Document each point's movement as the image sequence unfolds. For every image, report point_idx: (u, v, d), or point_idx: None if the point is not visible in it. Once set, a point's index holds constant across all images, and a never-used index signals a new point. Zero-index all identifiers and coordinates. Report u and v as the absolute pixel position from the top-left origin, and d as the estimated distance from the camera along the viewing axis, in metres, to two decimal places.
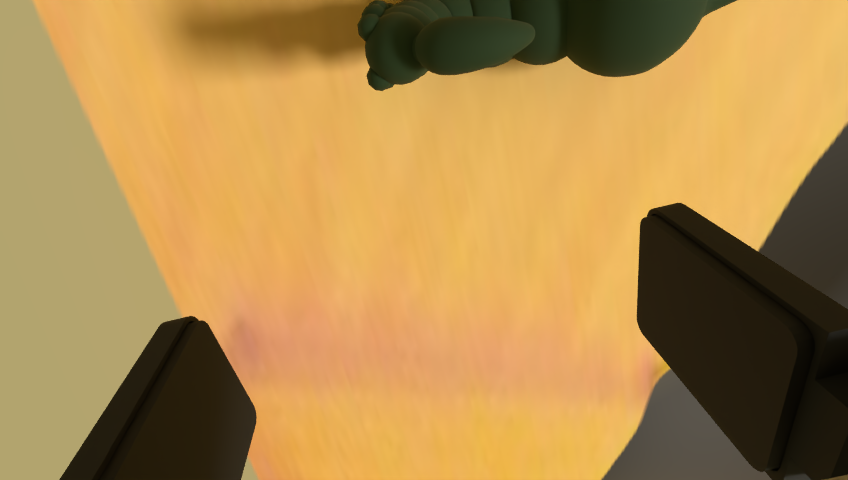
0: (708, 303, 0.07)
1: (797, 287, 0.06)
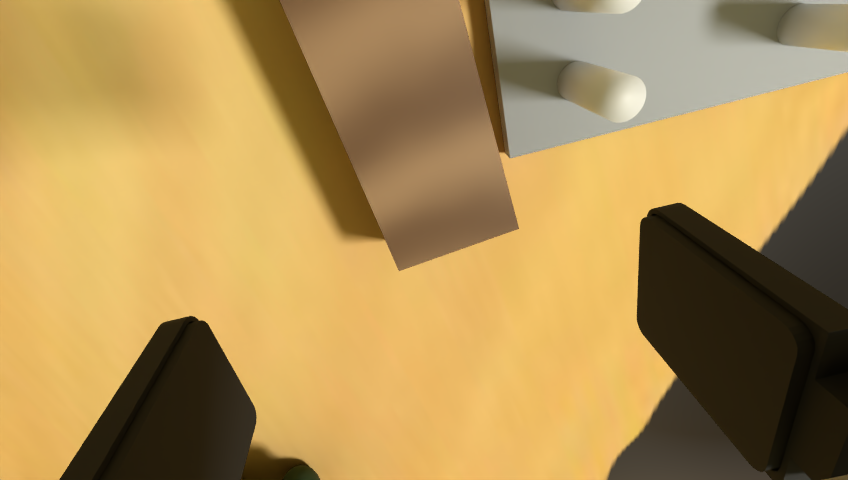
0: (708, 303, 0.07)
1: (797, 287, 0.06)
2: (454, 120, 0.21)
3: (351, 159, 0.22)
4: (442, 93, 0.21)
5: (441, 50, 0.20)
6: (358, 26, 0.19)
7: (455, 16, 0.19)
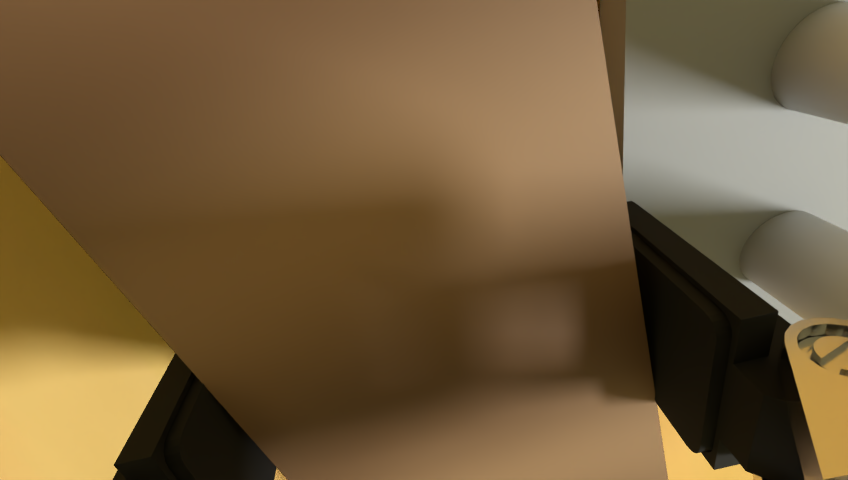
0: (649, 295, 0.08)
1: (722, 278, 0.07)
2: (563, 399, 0.08)
3: None
4: (538, 349, 0.08)
5: (545, 255, 0.07)
6: (292, 214, 0.06)
7: (597, 167, 0.06)
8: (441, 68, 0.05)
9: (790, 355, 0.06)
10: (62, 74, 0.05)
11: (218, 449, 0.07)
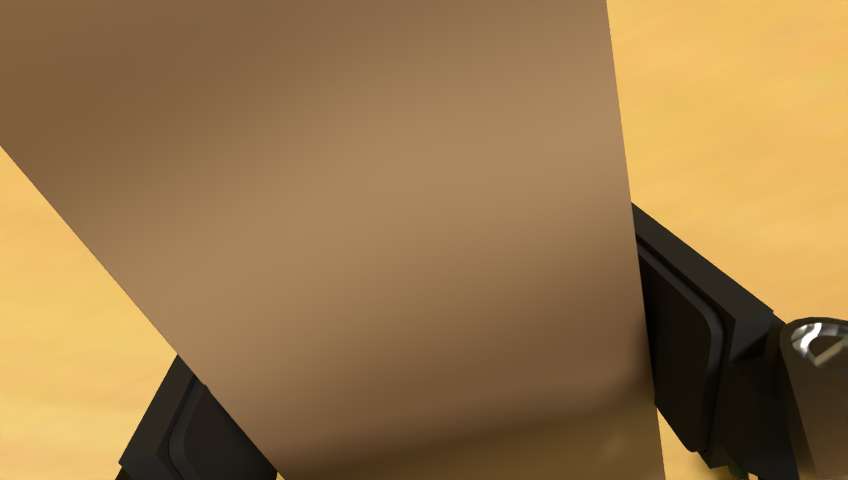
0: (646, 294, 0.08)
1: (717, 278, 0.07)
2: (563, 405, 0.08)
3: None
4: (540, 355, 0.08)
5: (550, 262, 0.07)
6: (298, 217, 0.06)
7: (604, 175, 0.06)
8: (451, 74, 0.05)
9: (784, 354, 0.06)
10: (71, 73, 0.05)
11: (221, 447, 0.07)
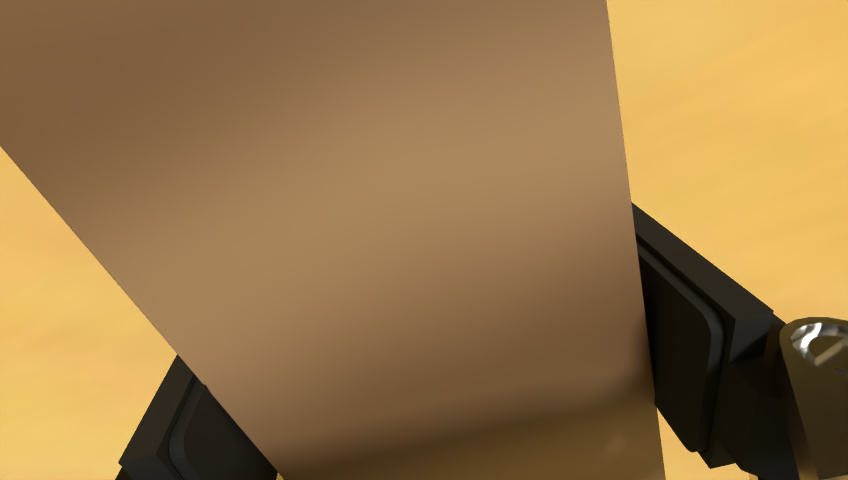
0: (646, 294, 0.08)
1: (717, 278, 0.07)
2: (564, 405, 0.08)
3: None
4: (540, 355, 0.08)
5: (550, 261, 0.07)
6: (298, 217, 0.06)
7: (604, 175, 0.06)
8: (451, 73, 0.05)
9: (784, 354, 0.06)
10: (70, 72, 0.05)
11: (221, 447, 0.07)
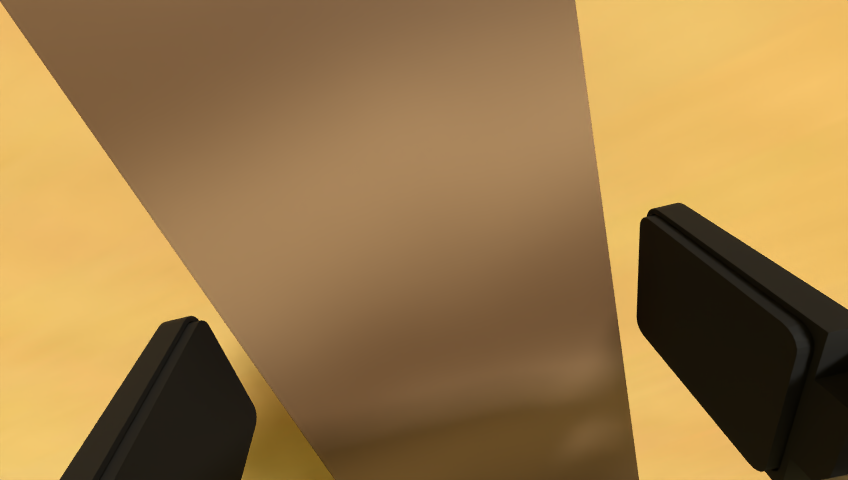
0: (708, 303, 0.07)
1: (797, 287, 0.06)
2: (542, 363, 0.09)
3: (309, 437, 0.10)
4: (522, 314, 0.09)
5: (530, 230, 0.08)
6: (319, 184, 0.07)
7: (576, 156, 0.07)
8: (449, 67, 0.06)
9: None
10: (143, 58, 0.06)
11: None
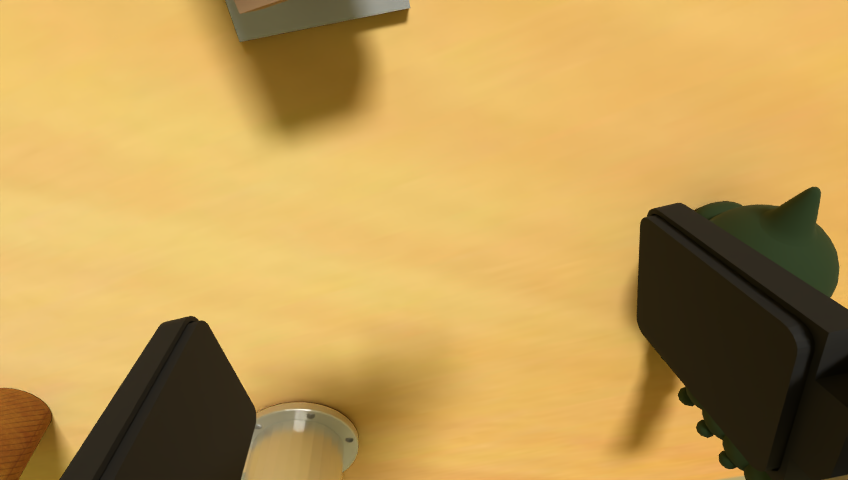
0: (708, 303, 0.07)
1: (797, 287, 0.06)
2: None
3: None
4: None
5: None
6: None
7: None
8: None
9: None
10: None
11: None
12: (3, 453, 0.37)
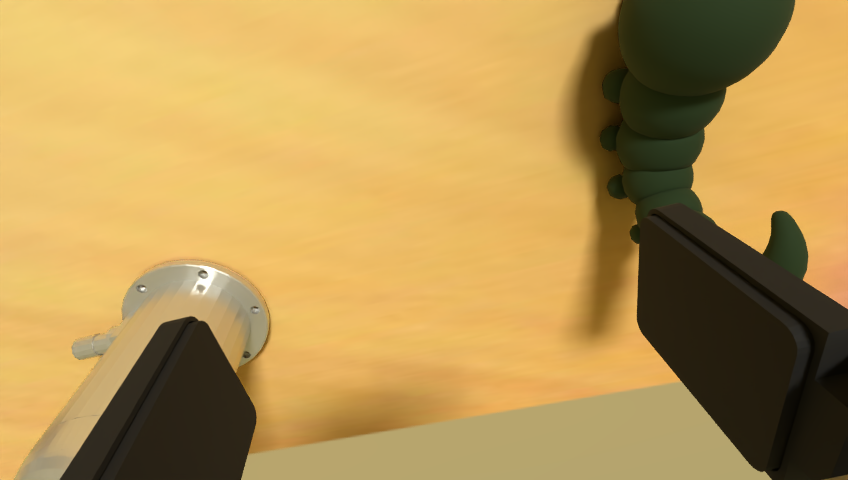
0: (708, 303, 0.07)
1: (798, 287, 0.06)
2: None
3: None
4: None
5: None
6: None
7: None
8: None
9: None
10: None
11: None
12: None
